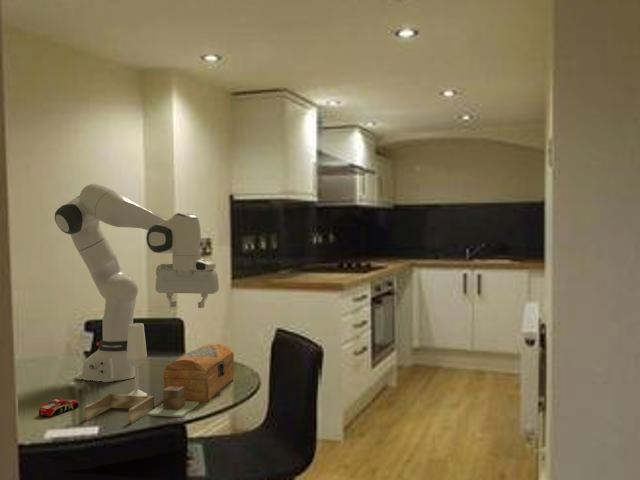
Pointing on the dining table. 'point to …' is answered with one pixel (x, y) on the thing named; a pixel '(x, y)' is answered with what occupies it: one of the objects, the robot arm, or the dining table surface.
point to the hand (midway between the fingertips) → (187, 307)
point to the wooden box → (202, 372)
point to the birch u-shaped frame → (121, 405)
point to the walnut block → (173, 398)
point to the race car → (57, 407)
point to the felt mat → (174, 413)
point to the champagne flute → (136, 352)
